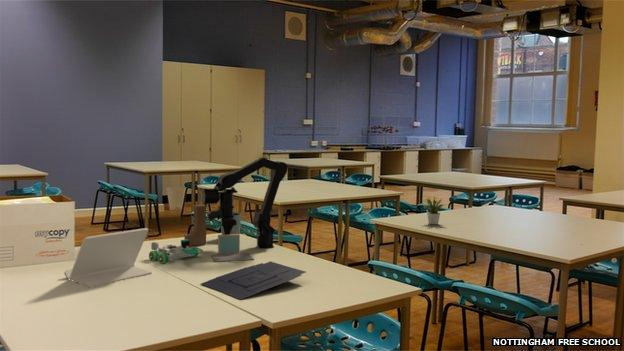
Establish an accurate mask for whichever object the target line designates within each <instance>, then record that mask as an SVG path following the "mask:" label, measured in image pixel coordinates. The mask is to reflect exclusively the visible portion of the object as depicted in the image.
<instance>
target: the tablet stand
mask: <svg viewBox="0 0 624 351" xmlns="http://www.w3.org/2000/svg"><path fill="white" fill-rule="evenodd" d="M148 232H149V229H148V227H144V228H137V229H131V230H124V231H118V232H116V231H115V232H110V233H105V234H104V233H103V234H98V235H91V236H85V237H84V238H83V239H82V242H81V245H80V247H79V250H78V252H77V253H78V254H77V256H76V258H75V262H74V264H73V267H72V268H71V269H65V270H64V272H63V274H64V277H65V278H66V279H67V278H68V279H70V280H73V281H75V282H74V283H76V282H78V283H80V284H79V285H81V284H83V285H82V286H84V285H85V286H84V287H86V286H88V287H87V288H92V287H91V286H94V287H98V286H97V285H99V286H103V285H102V284H104V285H107V284H106V283H108V284H112V283H111V282H113V283H116V281H117V282H121V280H122V281H126V279H127V280H131V279H134V278H135V277H136V278H141V277H145V276H149V275H152V274H153V272H152V271H151V270H147V269H144V268H140V267H137V266H135V262H136V260H137V258H138V256H139V253H140V251H141V249H142V246H143V245H144V242H145V240H146V238H147V234H148ZM130 278H131V279H130ZM136 278H135V279H136ZM68 279H67V280H68ZM70 280H69V281H70ZM73 281H72V282H73ZM78 283H77V284H78Z"/></svg>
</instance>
